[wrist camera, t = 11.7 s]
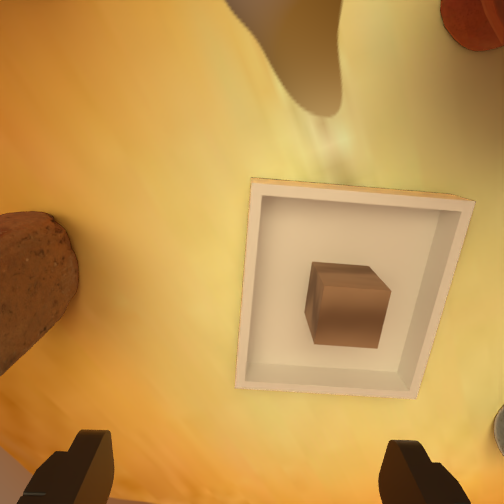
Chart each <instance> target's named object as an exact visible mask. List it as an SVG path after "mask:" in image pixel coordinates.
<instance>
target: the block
mask: <svg viewBox="0 0 504 504" xmlns="http://www.w3.org/2000/svg"><path fill="white" fill-rule="evenodd" d="M77 287H78V263H77V259H76V256H75V253H74V251H73V250H71V244H70V240H69V238H68V235H67V232H66V231H65V229H64V228H63V227H62V226H61V225H59V224H58V223H56V221H55V220H54V218H53V216H51V215H50V214H48V213H44V212H35V211H30V212H15V213H6V214H2V215H0V376H1V375H2V374H4V373H5V372H6V371H7V370H8V369H9V368H10V367H11V366H12V365H13V364H14V363H15V362H16V361H17V360H18V359H19V358H20V357H21V356H23V355H24V354H25V353H26V352H27V351H28V350H29V349H30V348H31V347H32V346H33V345H34V344H35V343H36V342H37V341H38V340H39V339H40V338H41V337H42V336H43V335H44V334H45V333H46V332H47V331H48V330H49V329H50V328H51V327H52V326H53V325H54V324H55V323H56V322H57V321H58V320H59V319H60V318H61V317H62V315H63V314H64V312H65V310H66V308H67V305H68V303H69V301H70V299H71V298H72V297H73V296H74V295H75V293H76V291H77Z"/></svg>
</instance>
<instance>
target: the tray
mask: <svg viewBox="0 0 504 504" xmlns="http://www.w3.org/2000/svg"><path fill="white" fill-rule="evenodd" d="M475 202H476V201H473V200H469V199H466V198H463V197H459V196H456V195H452V194H445V193H433V192H421V191H409V190H397V189H385V188H373V187H361V186H349V185H337V184H325V183H313V182H301V181H289V180H277V179H265V178H253V177H251V187H250V200H249V212H248V224H247V237H246V249H245V261H244V274H243V286H242V298H241V311H240V323H239V335H238V348H237V360H236V376H235V388H240V389H256V390H272V391H289V392H305V393H321V394H337V395H354V396H370V397H386V398H403V399H416V398H417V395H418V392H419V388H420V385H421V382H422V378H423V375H424V372H425V368H426V365H427V362H428V358H429V355H430V352H431V348H432V345H433V342H434V338H435V335H436V332H437V329H438V325H439V322H440V319H441V315H442V312H443V309H444V305H445V302H446V299H447V295H448V292H449V289H450V285H451V282H452V279H453V275H454V272H455V269H456V265H457V262H458V259H459V256H460V252H461V249H462V246H463V242H464V239H465V236H466V232H467V229H468V226H469V222H470V219H471V216H472V212H473V209H474V206H475ZM312 262H325V263H337V264H350V265H363V266H369V267H370V268H371V269H372V270H373V271H374V272H375V273H376V274H377V276H378V277H379V278H380V279H381V280H382V281H383V282H384V283H385V284H386V285H387V286H388V288H389V289H390V290H391V295H390V299H389V304H388V308H387V312H386V316H385V320H384V324H383V328H382V332H381V336H380V340H379V344H378V349H374V348H360V347H345V346H331V345H317V344H314V342H313V339H312V336H311V333H310V329H309V326H308V323H307V320H306V317H305V313H304V310H305V304H306V298H307V291H308V285H309V278H310V272H311V265H312Z"/></svg>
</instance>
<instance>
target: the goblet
mask: <svg viewBox="0 0 504 504" xmlns="http://www.w3.org/2000/svg"><path fill="white" fill-rule="evenodd" d="M440 11H441V15H442V18H443V22H444V26H445V28H446V29H447V30H448V32H449V33H450V34H451V35H452V37H453V38H454V39H455V40H456V41H457V42H458V43H459V44H461V45H462V46H464V47H466V48H468V49H470V50H473V51H485V50H490V49H494V48H498V47H501V46H504V0H441V8H440Z"/></svg>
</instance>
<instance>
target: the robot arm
mask: <svg viewBox="0 0 504 504" xmlns="http://www.w3.org/2000/svg"><path fill="white" fill-rule="evenodd" d="M113 478H114V459H113V450H112V440H111V433H110V431H109V430H81V431H79V433H78V434H77V435H76V437H75V439H74V441H73V443H72V445H71V447H70V448H69V450H68V452H64V451H56V452H54V453H53V454H52V455H51V456H50V457H49V458H48V459H47V460H46V461H45V462H44V463H43V464H42V465H41V466H40V467H39V468H38V469H37V470H36V472H35V473H34V475H33V477H32V478H31V480H30V482H29V484H28V485H27V487H26V489H25V491H24V493H23V496H21V497H20V499H19V500H18V502H17V504H106V503H107V500H108V497H109V495H110V491H111V488H112V484H113ZM378 483H379V492H380V496H381V500H382V503H383V504H471V502H470V500H469V499H468V497H467V495H466V494H465V492H464V490H463V489H462V487H461V485H460V484H459V482H458V481H457V480H456V479H455V478H454V477H453V476H452V475H451V474H450V473H449V472H448V471H447V470H446V468H445V467H444V466H443V465H442V464H441V463H432V462H431V460H430V458H429V457H428V455H427V453H426V451H425V449H424V448H423V446H422V445H421V444H420V443H419V442H418V441H411V440H390V441H389V443H388V446H387V449H386V453H385V456H384V459H383V463H382V466H381V470H380V473H379V480H378Z"/></svg>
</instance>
